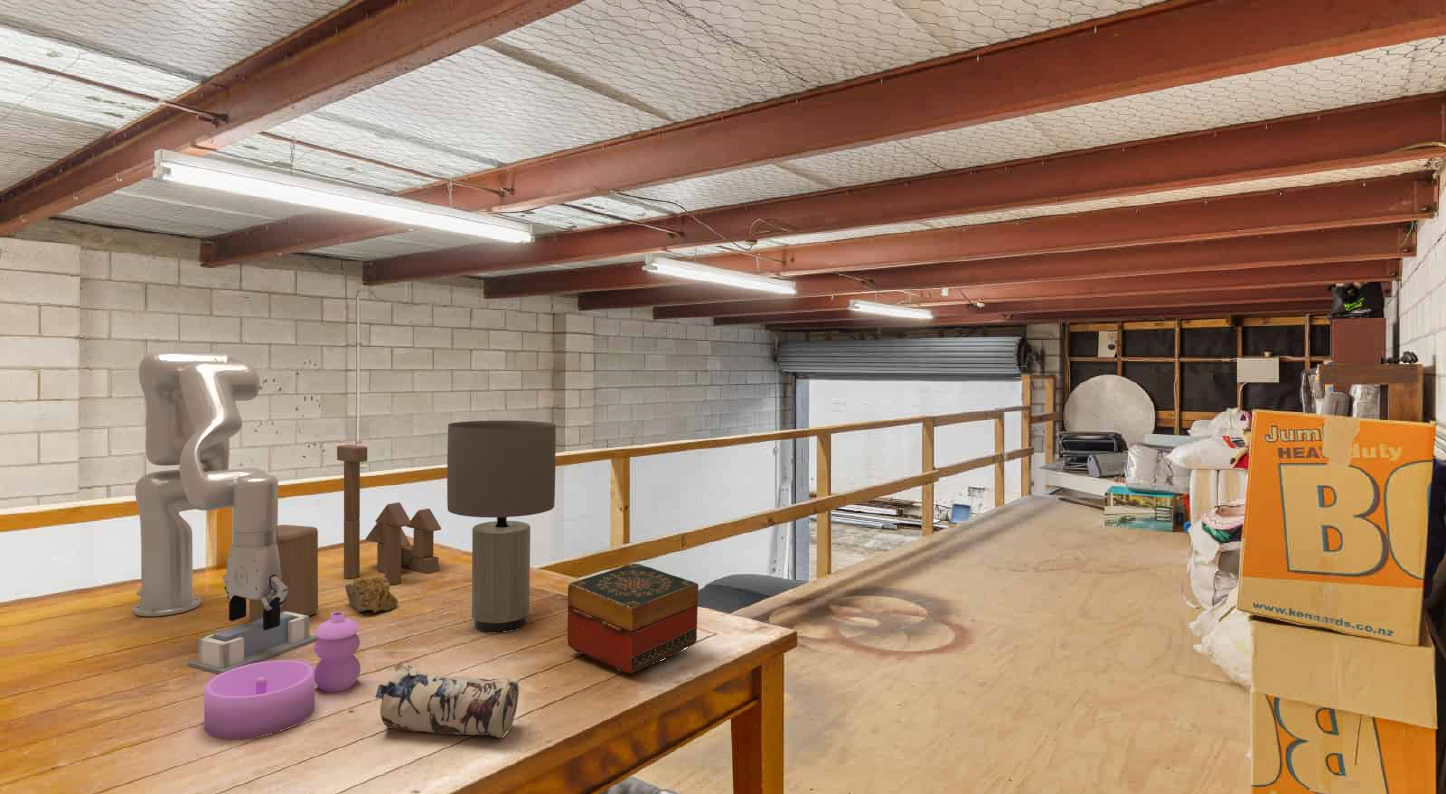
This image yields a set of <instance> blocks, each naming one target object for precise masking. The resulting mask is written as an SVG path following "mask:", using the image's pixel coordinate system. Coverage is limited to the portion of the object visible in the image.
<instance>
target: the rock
mask: <svg viewBox="0 0 1446 794" xmlns="http://www.w3.org/2000/svg"><path fill="white" fill-rule="evenodd" d="M344 587H345V592H346V596H347V598H348V603H349V606H350V607H352V608H354V609H355V610H356V611H357V612H359V613H363V612H365V611H372V612H373V614H374V613H379V612H380V611H382V612H383V611H384V612H388V611H390V610H393V609H394V608H395V607H396V605H397V604H398V602H399V599H398V598H397V597H396V596H395V595H394V594H392V593H391V591H390V587H391V585H390V584H389V582H388V581H387V579H385V577H381V576H366V577H362V578H360V577H358V578H355V579H353V581H352V582H349V583H348V584H346V585H345V586H344Z"/></svg>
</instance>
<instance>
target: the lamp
mask: <svg viewBox="0 0 1446 794" xmlns="http://www.w3.org/2000/svg"><path fill="white" fill-rule="evenodd" d="M447 425H448V426H447V450H446V451H447V453H446V455H447V459H446V460H447V462H446V467H447V468H446V470H447V472H446V473H447V475H446V479H447V481H446V482H447V483H446V485H447V488H446V501H447V502H446V505H447V511H448V512H449V513H451V514H453V515H457V516H461V517H462V516H463V517H469V518H470V517H471V518H472V517H473V518H491V519H492V518H496V520H494V521H487V522H481V523H478V524H475V525H474V526H473V527H472V529H471V531H472V532H471V533H472V536H471V539H472V542H471V544H472V545H471V547H472V548H471V552H472V553H471V555H472V556H471V557H472V558H471V618H472V619H473V620H474V621H473V623H474V628H475V630H477V631H479V630H480V631H479V632H482V633H487V632H503V631H510V630H515V631H517V630H516V629H518V630H519V628H520V629H522V628H524V627H525V626H526V625H527V621H528V620H527V619H528V616H529V614H530V597H531V596H530V595H531V594H530V593H531V591H530V589H531V587H530V585H531V580H530V579H531V577H530V576H531V572H530V571H531V525H530V524H529V523H526V522H523V521H517V520H508V519H507V518H514V517H515V518H516V517H523V516H524V517H525V516H526V517H527V516H533V515H539V514H543V513H546V512H549V511H551V510H553V509H554V508H555V498H556V452H557V451H556V444H557V442H556V440H557V439H556V437H557V436H556V432H557V431H556V430H557V429H556V424H555V423H552V422H546V421H533V420H530V421H529V420H473V421H472V420H471V421H469V420H467V421H459V422H458V421H457V422H452V423H448V424H447ZM525 624H526V625H525ZM524 625H525V626H524ZM523 626H524V627H523ZM521 627H522V628H521ZM510 632H511V631H510Z"/></svg>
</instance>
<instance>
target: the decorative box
mask: <svg viewBox="0 0 1446 794" xmlns="http://www.w3.org/2000/svg"><path fill="white" fill-rule="evenodd" d="M699 592H700V591H699V583H697V582H695V581H692V580H688V579H685V578H682V577H681V576H676V575H672V574H670V573H666V572H664V571H662V570H658V569H656V568H653V567H650V566H646V565H643V564H640V563H631V564H628V565H625V566H620V567H618V568H615V569H611V570H608V571H605V572H602V573H601V572H600V573H598V574H595V575H592V576H589V577H586V578H582V579H580V580H579V579H578V580H575V581H572V582H570V583H569V584H568V588H567V631H566V632H567V637H566V638H567V639H566V642H567V645H568V647H569V648H571V649H572V650H573V651H574V652H576V653H579V652H582V653H581V654H583V653H584V654H583V655H586V656H588V657H589V658H590V659H594V660H595V661H598V662H600V663H603V662H604V664H607V665H609V666H610V667H611V668H613V667H614V668H613V669H615V668H616V669H619V670H620V671H622V672H621V673H624V672H626V673H625V674H635V673H637V672H639V671H641V670H642V669H643V668H647V667H646V666H648V667H651V666H653V665H652V664H653V663H655V664H657V663H659V662H658V661H660V660H662V659H664V658H666V659H667V657H668V658H669V657H671V655H672V656H675V655H677V654H678V653H677V652H679V651H681V650H683V649H684V648H686V647H688V648H691V647H692V646H693V645H695V644H696V643H697V639H698V636H697V635H698V609H699V608H698V604H699ZM683 651H684V650H683ZM681 652H682V651H681ZM679 653H680V652H679ZM674 654H675V655H674ZM656 662H657V663H656ZM660 662H661V661H660ZM650 665H651V666H650ZM616 669H615V670H616ZM620 671H619V672H620ZM636 671H637V672H636Z"/></svg>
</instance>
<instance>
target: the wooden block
mask: <svg viewBox="0 0 1446 794" xmlns="http://www.w3.org/2000/svg"><path fill="white" fill-rule="evenodd" d="M318 535H319V530H318V527H315V526H307V525H306V526H305V525H293V524H291V525H290V524H280V525H279V524H278V533H277V545H278V551H279V558H280V570H281V582H282V583H283V584H284V585H285V586H286V587H288V593H287V595H286V599H285V601H284V602H283V605H282V606H281V607H280V613H282V612H285V611H287V612H291V613H296V614H301V615H306V616H309V617H310V616H313V615H314V614H316V613H317V612H318V610H319V536H318ZM266 594H267V593H266ZM268 599H269V601H270V602H271V601H272V600H273V598H272V597H270V598H268ZM265 609H266V608H265V606H264V604H263V602H262V600H261V599H259V600H251V599H248V619H249V621H250V622H254V621H257V620H260V619H263V610H265Z"/></svg>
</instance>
